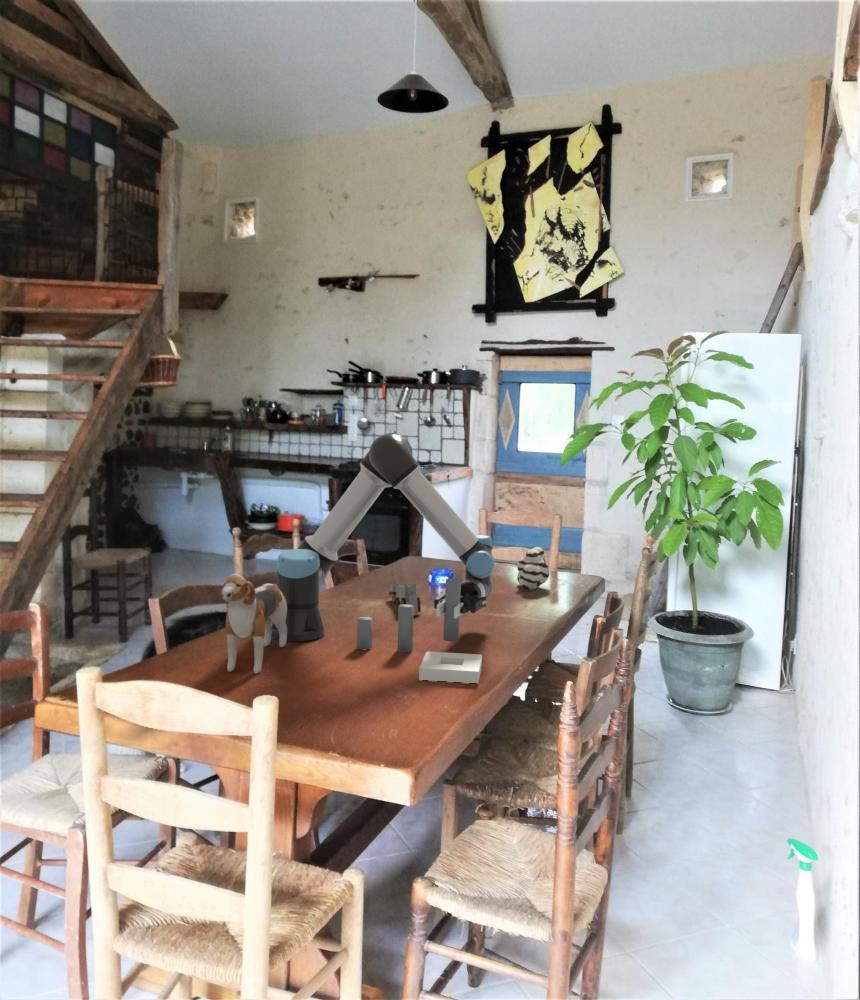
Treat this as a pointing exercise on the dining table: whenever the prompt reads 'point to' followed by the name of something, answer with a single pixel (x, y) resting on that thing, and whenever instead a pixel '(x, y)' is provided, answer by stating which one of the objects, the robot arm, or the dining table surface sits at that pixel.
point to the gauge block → (451, 667)
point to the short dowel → (364, 633)
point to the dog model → (253, 616)
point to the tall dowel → (451, 609)
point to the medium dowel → (405, 628)
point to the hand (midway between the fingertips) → (446, 612)
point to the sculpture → (533, 569)
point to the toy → (406, 596)
